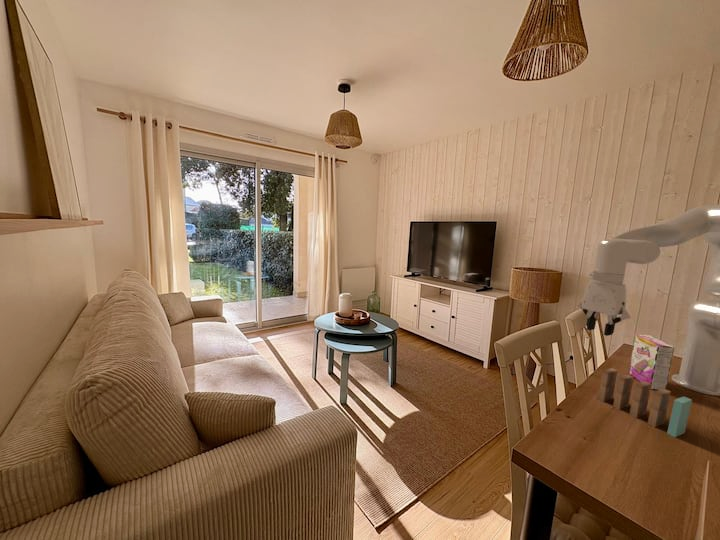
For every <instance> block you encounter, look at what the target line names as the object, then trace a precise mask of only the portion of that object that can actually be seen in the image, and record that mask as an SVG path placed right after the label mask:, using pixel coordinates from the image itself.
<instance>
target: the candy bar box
mask: <svg viewBox="0 0 720 540" xmlns="http://www.w3.org/2000/svg"><path fill="white" fill-rule="evenodd" d="M634 336H635V337H634V341H633V347H632V352H631V359H630V364H629V370H628V375H632V376H633V377H635V378H636V380H637V381H638V380H639V383H640V382H643V381H646V382H649V383H651V389H650V390H652V389H655V390H654V391H657V390H660V389H663V388H664V389H666V390H667V385H668V380H669V376H670V371H671V366H672V360H673V357H674V352H675V351H674V350H675V347H674V346H672V345H670V344H668V343H667V342H664V341H663V340H660V339H658V338H656V337H654V336H652V335H649V334H639V333H635V335H634ZM635 378H634V379H635Z"/></svg>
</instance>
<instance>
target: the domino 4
mask: <svg viewBox="0 0 720 540" xmlns="http://www.w3.org/2000/svg"><path fill="white" fill-rule="evenodd" d="M671 392H672V391H671V390H669V389H667V388H666V389H664V388H663V389H660V390H653V395H652V400H651V405H650V410H649V415H648V420H647V425H650V426H652V427H653V428H657V427H659V426H661V425H663V424H665V420H666V415H667V411H668V406H669V403H670V397H671Z"/></svg>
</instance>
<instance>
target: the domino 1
mask: <svg viewBox="0 0 720 540" xmlns="http://www.w3.org/2000/svg"><path fill="white" fill-rule="evenodd" d="M618 371H619V370H618V369H615V368H612V367H611V368H607V369H603V370H602V372H601V379H600V385H599V390H598V394H597V396H598V397H597V400H599V401H601V402H603V403H604V402H607V401H609V400H614V398H613V397H614V395H615V393H614V392H615V389H616V387H615V386H616V383H617V378H618Z"/></svg>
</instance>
